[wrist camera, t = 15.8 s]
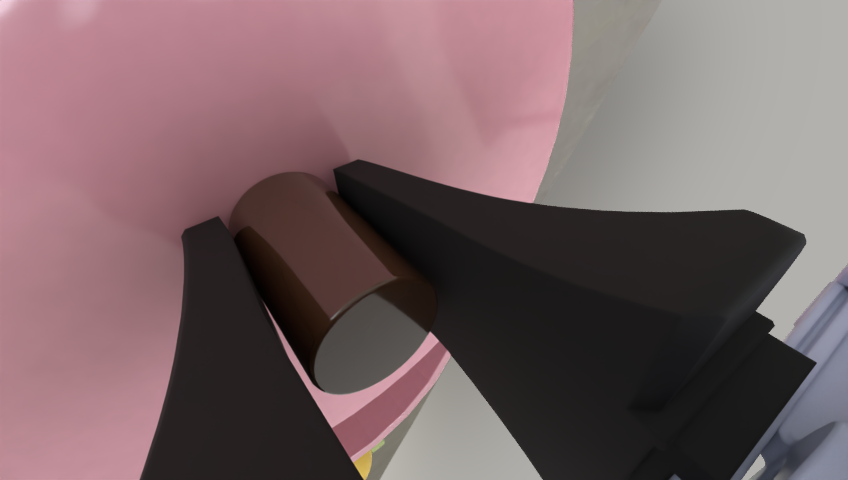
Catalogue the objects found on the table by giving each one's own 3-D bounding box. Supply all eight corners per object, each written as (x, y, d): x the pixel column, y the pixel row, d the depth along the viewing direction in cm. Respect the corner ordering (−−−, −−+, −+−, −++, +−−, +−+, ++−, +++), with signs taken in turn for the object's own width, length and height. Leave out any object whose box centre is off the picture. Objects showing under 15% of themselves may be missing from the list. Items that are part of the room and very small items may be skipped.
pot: (187, 481, 25) (212, 567, 22) (-43, 291, 13) (-60, 417, 10) (421, 331, 32) (465, 379, 29) (405, 122, 20) (475, 166, 17)
